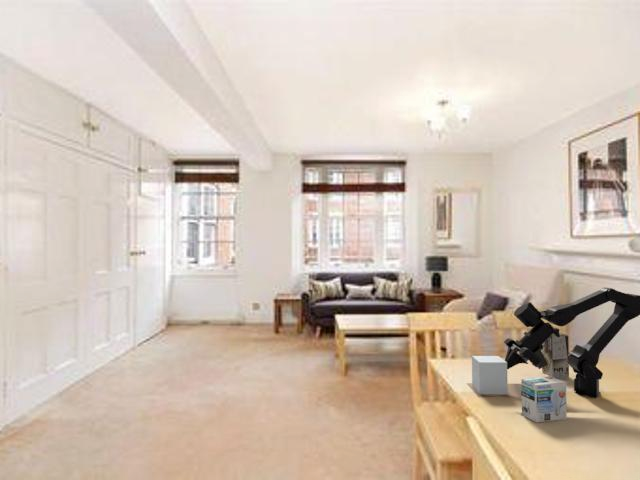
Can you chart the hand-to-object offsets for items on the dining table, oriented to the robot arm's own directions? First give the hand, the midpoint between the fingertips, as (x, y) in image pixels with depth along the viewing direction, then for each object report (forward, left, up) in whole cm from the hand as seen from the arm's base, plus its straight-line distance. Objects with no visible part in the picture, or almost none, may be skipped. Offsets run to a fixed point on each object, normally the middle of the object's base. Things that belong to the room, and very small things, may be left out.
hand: (503, 369), depth 156 cm
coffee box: (-6, -35, -8) cm, 36 cm away
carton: (+4, +3, -7) cm, 9 cm away
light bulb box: (-17, +13, -8) cm, 23 cm away
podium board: (0, 0, -8) cm, 8 cm away
